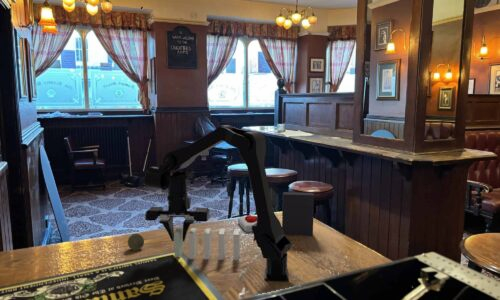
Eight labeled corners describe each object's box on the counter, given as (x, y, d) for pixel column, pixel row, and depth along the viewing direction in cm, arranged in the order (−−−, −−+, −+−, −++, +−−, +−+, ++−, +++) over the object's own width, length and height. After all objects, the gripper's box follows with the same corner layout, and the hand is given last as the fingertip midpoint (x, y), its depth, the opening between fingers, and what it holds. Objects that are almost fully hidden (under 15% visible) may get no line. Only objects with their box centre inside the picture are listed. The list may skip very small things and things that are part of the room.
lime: (146, 247, 124) (145, 232, 123) (135, 252, 120) (135, 237, 119) (135, 245, 126) (134, 230, 125) (124, 250, 121) (124, 235, 121)
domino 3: (208, 259, 115) (208, 233, 114) (203, 259, 115) (203, 233, 114) (211, 252, 120) (211, 228, 119) (206, 252, 120) (206, 228, 119)
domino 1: (179, 257, 116) (179, 232, 115) (174, 257, 116) (174, 232, 115) (183, 251, 121) (183, 227, 120) (178, 251, 121) (178, 226, 120)
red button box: (271, 220, 141) (245, 222, 138) (271, 231, 141) (245, 233, 139) (261, 210, 152) (237, 212, 150) (261, 221, 153) (237, 223, 150)
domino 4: (223, 259, 115) (223, 234, 114) (218, 259, 115) (218, 234, 114) (225, 253, 120) (225, 228, 119) (220, 253, 120) (220, 228, 119)
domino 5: (238, 260, 114) (238, 234, 113) (233, 260, 115) (233, 234, 114) (239, 253, 119) (240, 229, 118) (234, 253, 119) (234, 228, 118)
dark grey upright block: (312, 232, 139) (313, 192, 137) (312, 236, 135) (314, 195, 133) (282, 231, 140) (282, 191, 138) (281, 235, 136) (282, 194, 134)
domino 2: (194, 259, 115) (193, 233, 114) (188, 258, 115) (188, 233, 114) (197, 252, 120) (196, 228, 119) (192, 252, 120) (191, 227, 119)
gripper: (212, 186, 123) (212, 232, 125) (155, 185, 124) (156, 231, 126) (206, 194, 112) (206, 245, 114) (143, 193, 113) (145, 244, 115)
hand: (178, 241), depth 117 cm, fingers open, 3 cm apart
